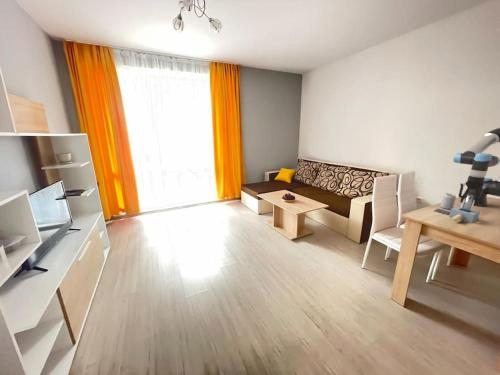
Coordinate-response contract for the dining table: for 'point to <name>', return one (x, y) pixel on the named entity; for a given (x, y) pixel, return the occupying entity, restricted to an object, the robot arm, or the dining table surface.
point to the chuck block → (464, 214)
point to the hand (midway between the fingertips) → (466, 207)
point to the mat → (442, 211)
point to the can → (448, 201)
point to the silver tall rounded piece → (468, 203)
